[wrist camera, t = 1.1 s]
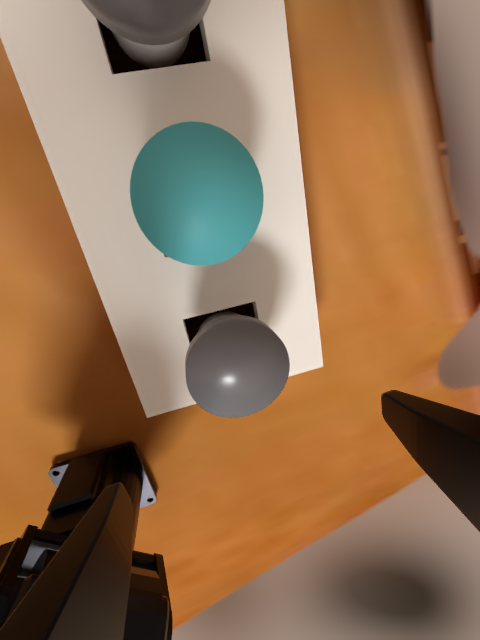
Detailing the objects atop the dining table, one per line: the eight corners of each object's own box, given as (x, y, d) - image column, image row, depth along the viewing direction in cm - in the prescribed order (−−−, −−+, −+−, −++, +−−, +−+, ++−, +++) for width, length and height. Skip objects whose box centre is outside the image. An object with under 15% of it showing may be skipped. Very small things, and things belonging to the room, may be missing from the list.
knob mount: (299, 343, 23) (323, 366, 19) (152, 384, 21) (147, 417, 18) (247, -40, 15) (270, -128, 11) (8, -17, 14) (-57, -110, 10)
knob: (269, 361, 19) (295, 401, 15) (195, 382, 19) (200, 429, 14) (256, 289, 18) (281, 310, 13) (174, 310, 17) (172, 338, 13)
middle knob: (248, 244, 17) (272, 250, 12) (160, 264, 16) (153, 278, 12) (230, 144, 15) (251, 111, 11) (130, 162, 14) (109, 134, 10)
